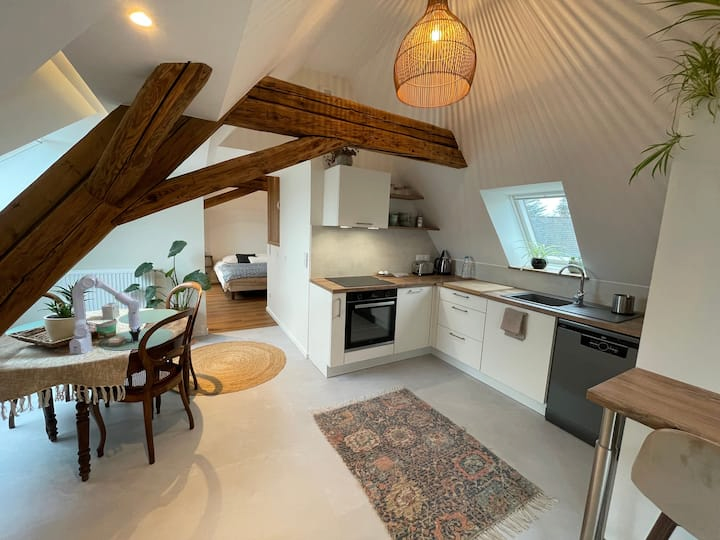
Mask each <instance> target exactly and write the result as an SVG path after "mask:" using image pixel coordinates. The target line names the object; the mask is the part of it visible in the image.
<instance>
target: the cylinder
mask: <svg viewBox="0 0 720 540" xmlns="http://www.w3.org/2000/svg"><path fill="white" fill-rule="evenodd" d="M130 336H131V335H130ZM130 339H131V343H132V342H133V343H132V344H134V343H140V342H141V334H140V333H139V338H138V341H135V342H134V341H133V338H132V336H131V337H130ZM139 341H140V342H139Z"/></svg>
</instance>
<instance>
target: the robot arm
mask: <svg viewBox="0 0 720 540" xmlns="http://www.w3.org/2000/svg"><path fill="white" fill-rule="evenodd" d="M92 288H94V289H102V290H103V291H105V292H107V293H109V294H111V295H112V296H114V299H115V300H116V301H117V302H118V303H121V304H122V305H124V306H127V309H128V311H127V318H128V328H129V329H130V330H129V331H128V332H129V334H130V336H132V338H133V341H134V342H135V341H138V338H139V334H140V333H141V329H140V328H141V327H142V326H143V325H144V324H143V323H141V315H140V313H141V312H140V302H139V300H137V298H135V297H134V296H130V295H129V294H128V292H126V291H119V290H118V289H116V288H115V287H113V286H112V285H110V284H109V283H108V282H106V281H104V280H102V279H101V278H100V277H97V276H96V275H94V274H86V275H84V276H83V277H82V278H81V277H80V279H79V280H78V282H77V283H76V284H75V285H74V287H72V289H71V296H72V297H71V298H72V305H73V315H74V329H73V331H72V333H73V338H72V339H71V340H70V341H69V345H68V346H69V352H68V355H74V354H75V355H76V354H79V355H81V354H82V355H83V354H86V353H88V352H90V351H92V350H93V349H96V348H97V346H95V345H94V346H93V343H92V333H91V332H90V331H89V330H90V328H91V325H90V324H89V323H88V319H87V314H86V304H85V296H84V293H85V292H86V291H87V290H89V289H92Z"/></svg>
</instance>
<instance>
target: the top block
mask: <svg viewBox="0 0 720 540" xmlns="http://www.w3.org/2000/svg"><path fill="white" fill-rule="evenodd" d="M124 339H126V336H125V335H115V336H113V337H110V338H108V343H119V342H121V341H123V340H124Z"/></svg>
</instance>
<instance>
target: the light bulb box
mask: <svg viewBox="0 0 720 540" xmlns="http://www.w3.org/2000/svg"><path fill="white" fill-rule="evenodd" d="M119 303H120V302H108V303H106V304H105V305H103V306H101V313H102V321H112V320H114V319H117V318H119V316H120V315H121V314H120V305H119Z"/></svg>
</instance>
